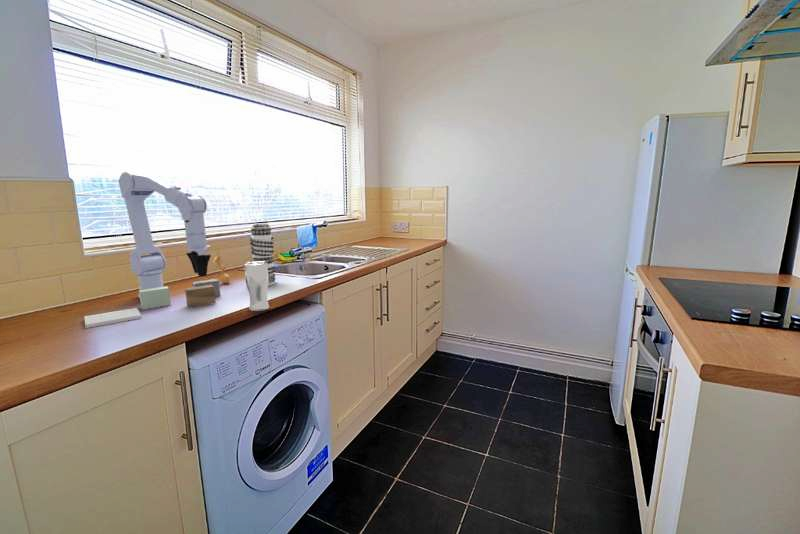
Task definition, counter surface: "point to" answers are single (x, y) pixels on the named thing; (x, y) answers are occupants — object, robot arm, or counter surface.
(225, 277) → the figurine
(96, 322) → the white mat
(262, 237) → the decorative candle
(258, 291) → the beer glass
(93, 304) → the counter surface
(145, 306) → the sage brick
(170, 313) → the counter surface
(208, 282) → the grey brick
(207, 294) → the walnut brick
